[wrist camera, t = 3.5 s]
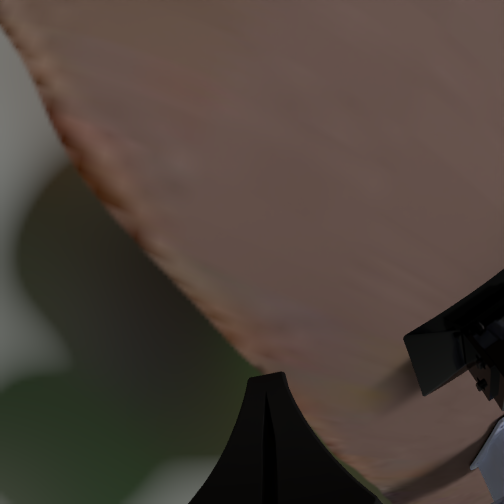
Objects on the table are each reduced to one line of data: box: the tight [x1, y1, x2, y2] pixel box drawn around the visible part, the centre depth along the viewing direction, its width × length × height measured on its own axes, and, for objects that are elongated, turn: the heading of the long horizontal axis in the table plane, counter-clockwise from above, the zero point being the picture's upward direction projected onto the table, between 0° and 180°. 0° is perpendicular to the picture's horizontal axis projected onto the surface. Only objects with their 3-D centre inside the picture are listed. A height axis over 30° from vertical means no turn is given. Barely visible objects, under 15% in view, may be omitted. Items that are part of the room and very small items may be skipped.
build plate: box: [403, 269, 504, 411], centre depth 11 cm, size 12×7×5 cm, turn 121°
